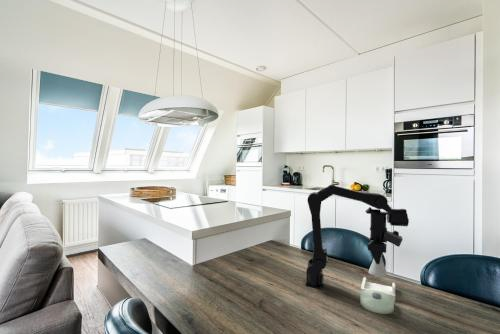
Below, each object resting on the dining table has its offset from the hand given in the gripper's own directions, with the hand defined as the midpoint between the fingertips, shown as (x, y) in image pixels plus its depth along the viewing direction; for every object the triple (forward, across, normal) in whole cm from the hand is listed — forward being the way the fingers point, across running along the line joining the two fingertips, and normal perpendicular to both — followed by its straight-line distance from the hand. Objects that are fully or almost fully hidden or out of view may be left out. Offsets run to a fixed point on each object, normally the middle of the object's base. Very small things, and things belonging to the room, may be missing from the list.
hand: (377, 262), depth 104 cm
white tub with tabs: (+12, -6, 0) cm, 13 cm away
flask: (+5, 0, 0) cm, 5 cm away
